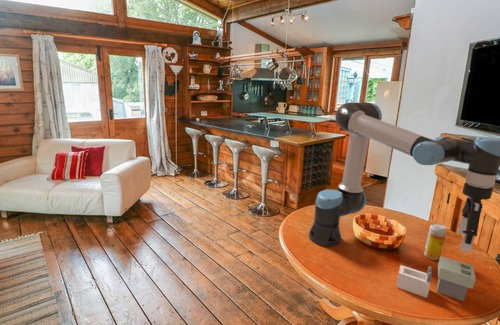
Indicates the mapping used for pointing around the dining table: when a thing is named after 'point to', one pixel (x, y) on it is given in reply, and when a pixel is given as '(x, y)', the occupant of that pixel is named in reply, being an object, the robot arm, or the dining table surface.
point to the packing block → (451, 289)
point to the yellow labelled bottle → (435, 241)
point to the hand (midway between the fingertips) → (463, 242)
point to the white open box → (414, 280)
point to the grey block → (456, 272)
